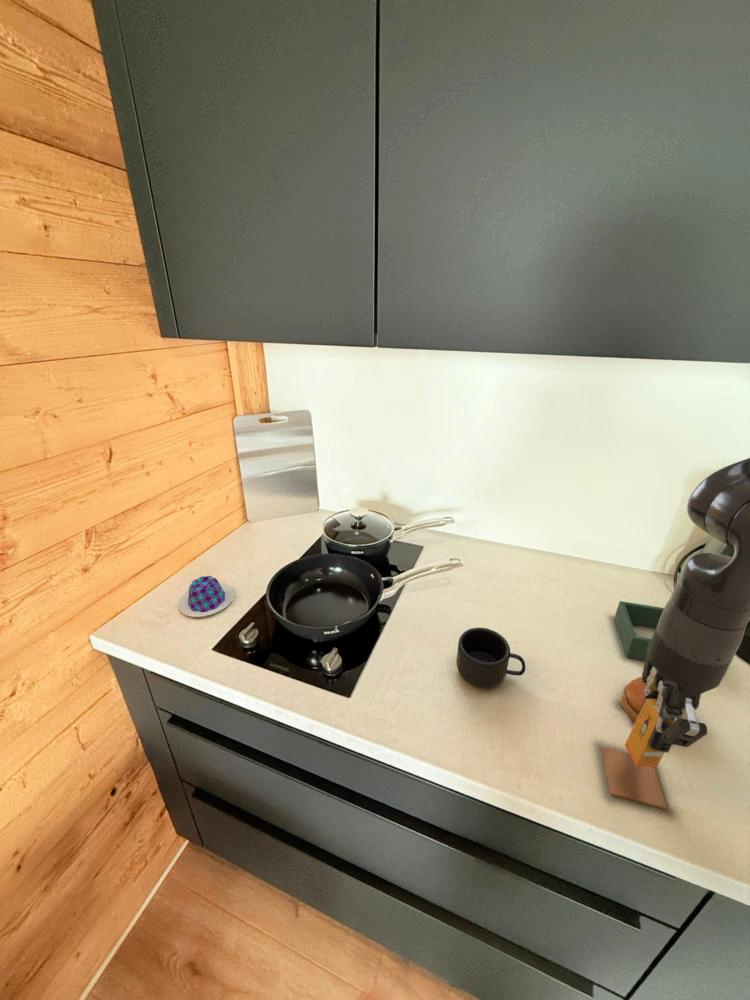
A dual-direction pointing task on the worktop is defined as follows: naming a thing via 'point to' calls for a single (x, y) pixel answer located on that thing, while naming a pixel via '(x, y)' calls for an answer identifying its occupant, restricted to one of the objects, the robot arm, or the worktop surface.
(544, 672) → the worktop surface
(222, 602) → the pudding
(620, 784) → the coaster
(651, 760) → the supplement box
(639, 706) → the burger
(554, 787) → the worktop surface
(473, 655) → the mug
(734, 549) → the robot arm
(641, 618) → the basket
